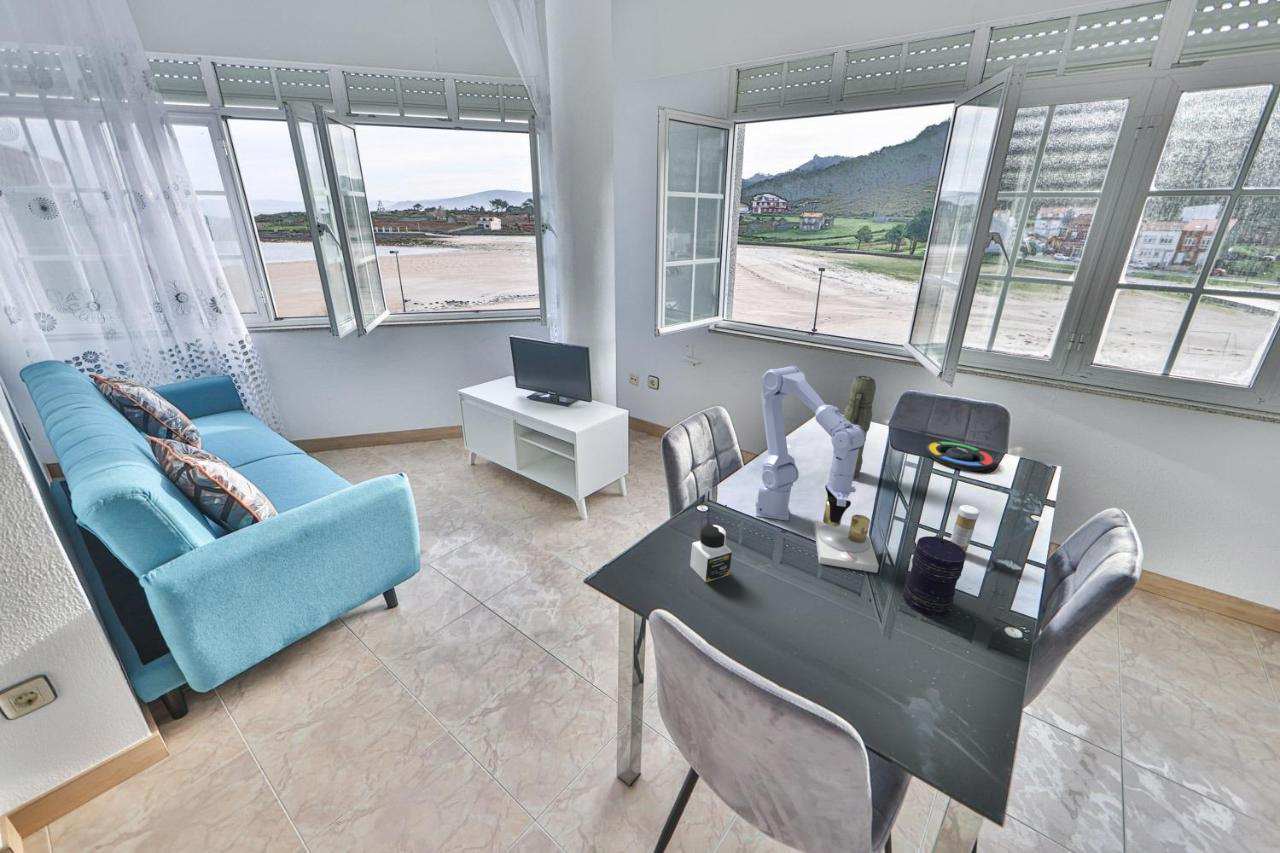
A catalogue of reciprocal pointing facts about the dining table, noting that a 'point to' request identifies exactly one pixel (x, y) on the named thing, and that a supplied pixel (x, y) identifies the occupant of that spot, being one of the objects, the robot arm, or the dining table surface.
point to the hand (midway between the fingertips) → (833, 517)
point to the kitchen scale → (843, 548)
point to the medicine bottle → (711, 554)
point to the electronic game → (960, 456)
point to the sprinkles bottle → (964, 526)
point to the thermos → (860, 409)
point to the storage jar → (933, 576)
